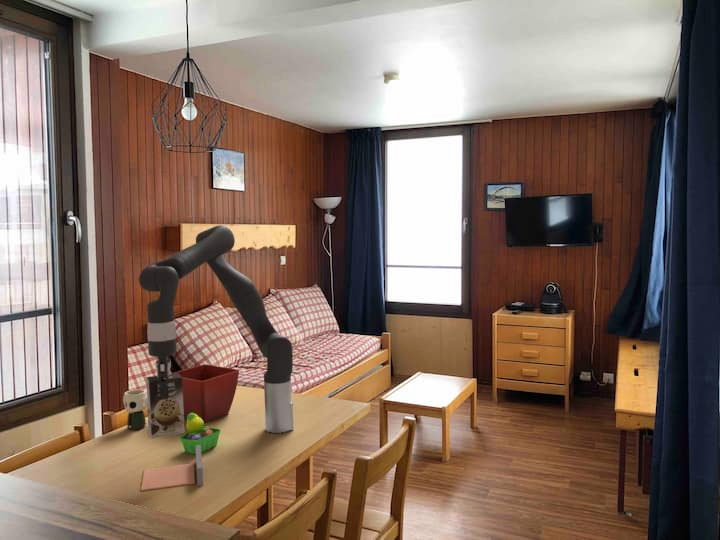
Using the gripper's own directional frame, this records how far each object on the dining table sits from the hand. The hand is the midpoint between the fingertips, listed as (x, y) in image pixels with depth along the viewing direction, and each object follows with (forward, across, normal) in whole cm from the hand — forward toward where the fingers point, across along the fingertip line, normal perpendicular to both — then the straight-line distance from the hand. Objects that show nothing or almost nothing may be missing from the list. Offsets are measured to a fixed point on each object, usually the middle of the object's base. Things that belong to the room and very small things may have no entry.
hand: (164, 395), depth 168 cm
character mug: (+24, +48, +12) cm, 55 cm away
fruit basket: (+24, +20, -9) cm, 32 cm away
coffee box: (+11, 0, 0) cm, 11 cm away
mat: (+24, 0, 0) cm, 24 cm away
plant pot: (+24, +53, -12) cm, 59 cm away
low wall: (+24, 0, -8) cm, 25 cm away
